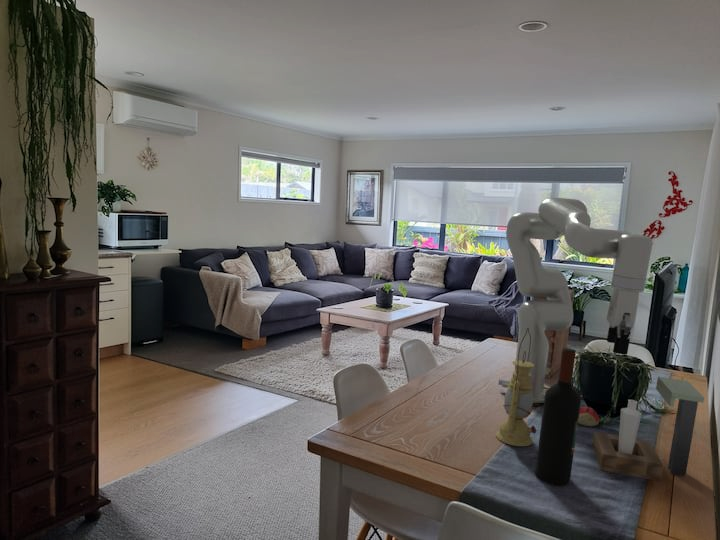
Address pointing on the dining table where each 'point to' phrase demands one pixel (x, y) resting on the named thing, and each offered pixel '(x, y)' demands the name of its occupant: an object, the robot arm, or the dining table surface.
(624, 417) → the perfume bottle
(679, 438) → the capped grey post
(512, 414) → the lantern
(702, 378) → the dining table surface
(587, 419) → the red and yellow dome
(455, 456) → the dining table surface
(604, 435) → the socket block
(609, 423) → the dining table surface
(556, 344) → the book
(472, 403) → the dining table surface
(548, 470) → the wine bottle
